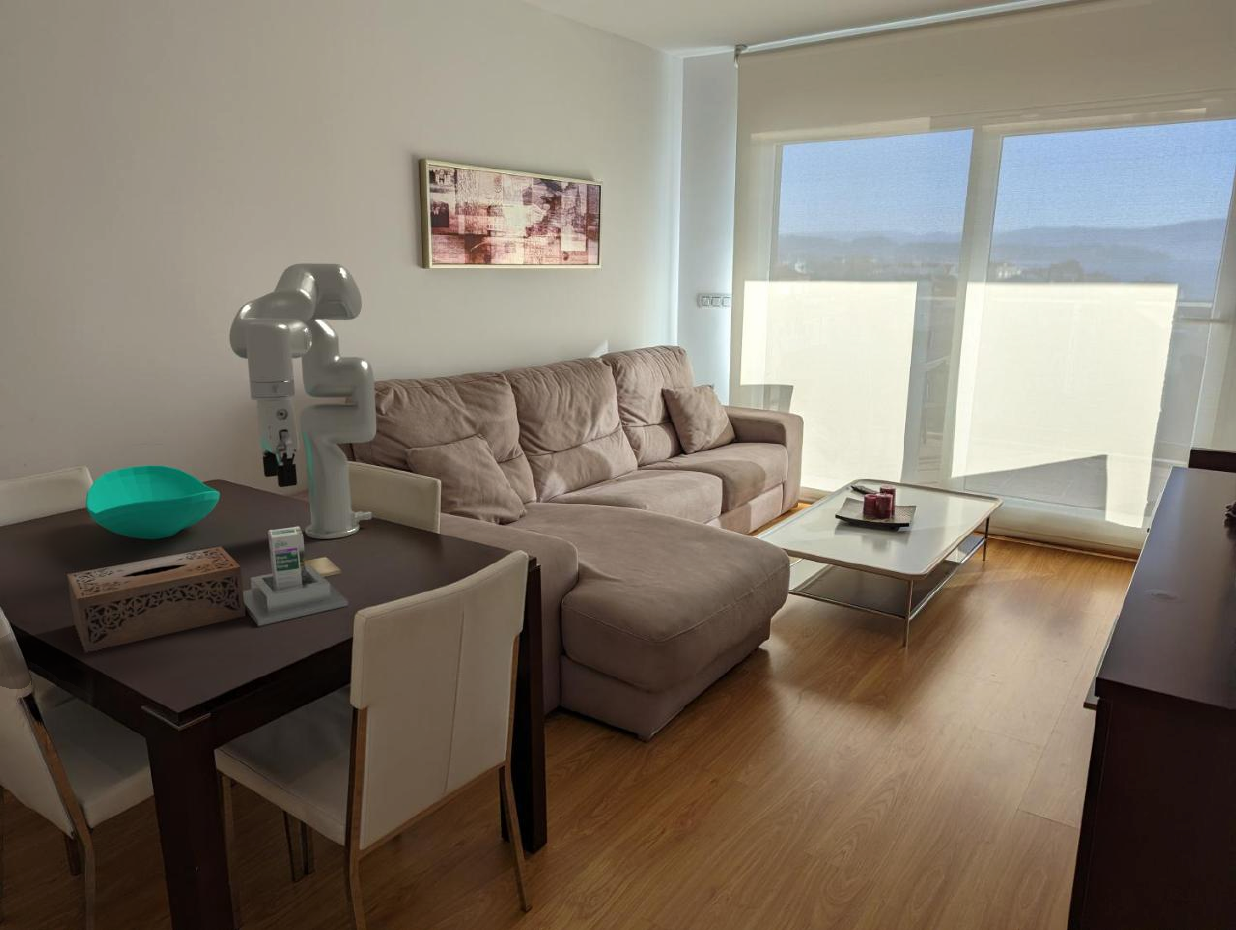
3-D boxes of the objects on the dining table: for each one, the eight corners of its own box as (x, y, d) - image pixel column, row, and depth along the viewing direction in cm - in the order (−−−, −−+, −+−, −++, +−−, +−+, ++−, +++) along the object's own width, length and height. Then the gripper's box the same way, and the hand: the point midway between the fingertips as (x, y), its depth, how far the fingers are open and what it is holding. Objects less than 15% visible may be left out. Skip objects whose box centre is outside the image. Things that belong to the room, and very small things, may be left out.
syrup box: (278, 610, 162) (271, 537, 159) (274, 599, 168) (267, 528, 164) (309, 604, 165) (303, 533, 162) (305, 594, 170) (299, 524, 167)
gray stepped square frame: (321, 580, 177) (319, 560, 176) (347, 605, 165) (346, 583, 163) (237, 598, 168) (234, 576, 167) (258, 626, 155) (256, 603, 154)
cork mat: (326, 560, 189) (325, 557, 189) (341, 573, 182) (340, 569, 181) (279, 569, 184) (279, 566, 184) (292, 583, 176) (292, 579, 176)
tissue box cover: (225, 594, 171) (220, 546, 169) (245, 617, 160) (240, 566, 158) (74, 626, 156) (67, 574, 153) (85, 654, 144) (77, 598, 142)
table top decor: (245, 542, 201) (240, 488, 198) (112, 569, 184) (104, 509, 180) (195, 506, 230) (190, 458, 227) (76, 526, 213) (68, 475, 210)
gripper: (307, 393, 152) (315, 487, 156) (280, 383, 166) (288, 469, 169) (263, 397, 148) (272, 493, 151) (239, 386, 161) (248, 474, 165)
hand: (280, 480), depth 160 cm, fingers open, 9 cm apart
